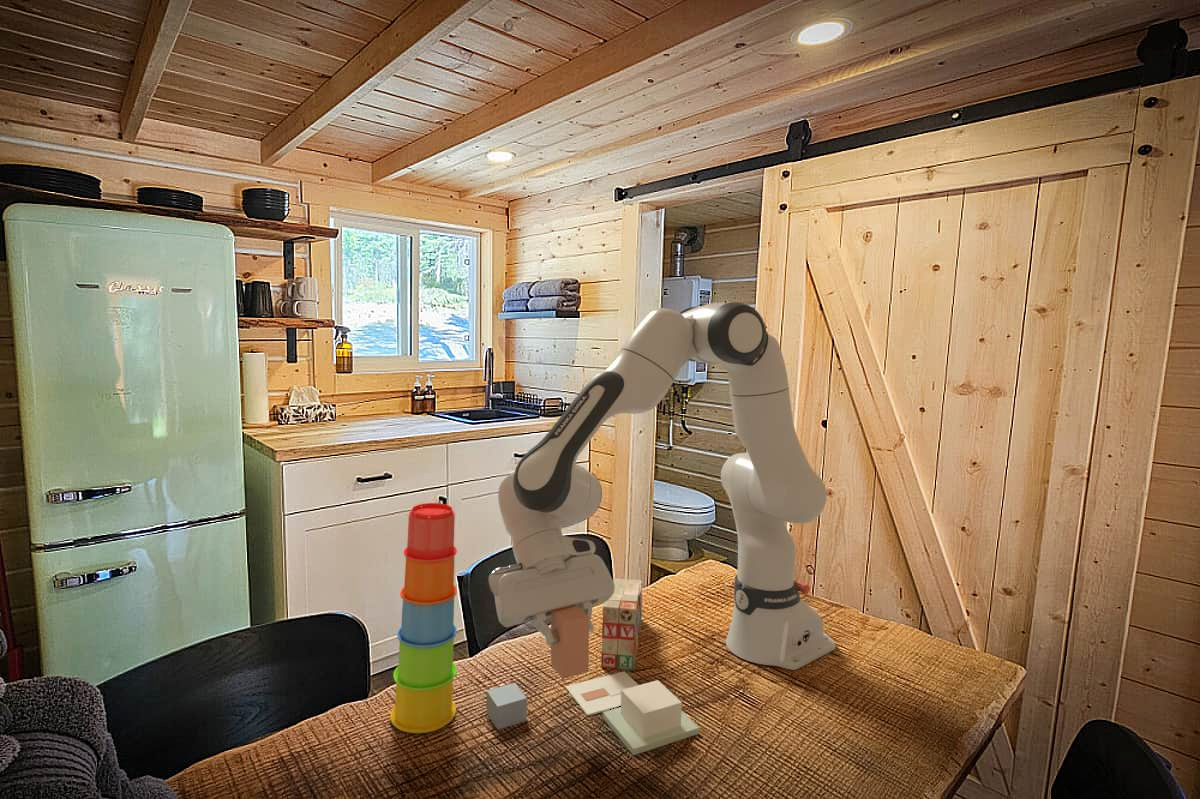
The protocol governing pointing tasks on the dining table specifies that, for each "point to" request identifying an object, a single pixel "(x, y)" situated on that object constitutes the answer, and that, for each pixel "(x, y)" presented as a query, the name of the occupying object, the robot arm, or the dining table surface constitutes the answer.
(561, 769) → the dining table surface
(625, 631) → the stack of blocks
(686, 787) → the dining table surface
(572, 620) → the terracotta brick
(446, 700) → the stacking cups
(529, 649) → the dining table surface
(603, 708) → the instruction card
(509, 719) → the slate brick
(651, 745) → the tower base
